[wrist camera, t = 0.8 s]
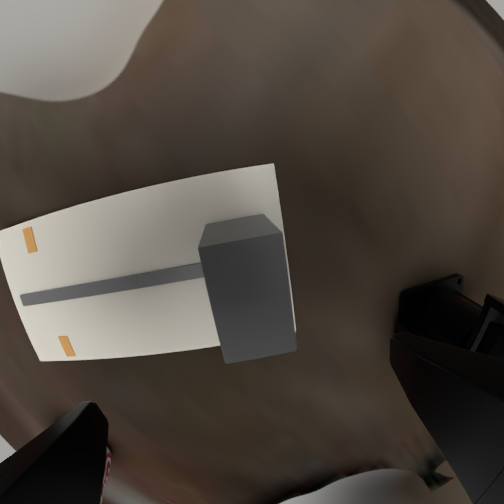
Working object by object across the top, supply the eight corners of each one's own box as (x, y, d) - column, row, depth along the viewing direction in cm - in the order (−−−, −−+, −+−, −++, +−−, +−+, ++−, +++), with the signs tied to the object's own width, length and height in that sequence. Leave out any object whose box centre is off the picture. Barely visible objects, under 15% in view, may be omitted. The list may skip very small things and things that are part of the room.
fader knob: (263, 213, 15) (282, 232, 10) (276, 301, 17) (296, 350, 12) (205, 224, 15) (197, 247, 10) (224, 311, 16) (225, 363, 12)
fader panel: (269, 164, 17) (274, 163, 15) (291, 320, 19) (296, 332, 18) (6, 228, 16) (-8, 233, 14) (48, 351, 18) (39, 362, 17)
